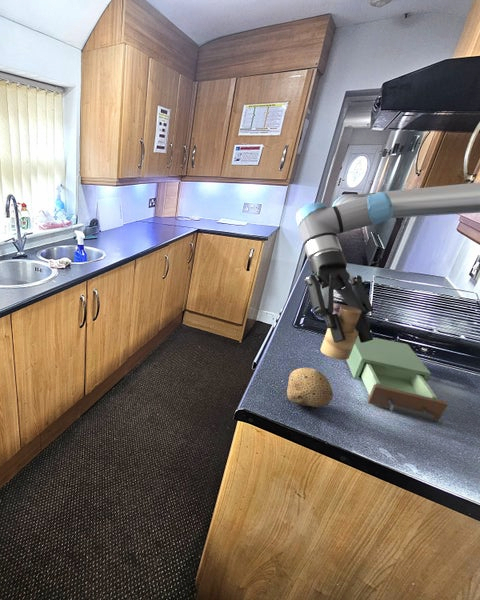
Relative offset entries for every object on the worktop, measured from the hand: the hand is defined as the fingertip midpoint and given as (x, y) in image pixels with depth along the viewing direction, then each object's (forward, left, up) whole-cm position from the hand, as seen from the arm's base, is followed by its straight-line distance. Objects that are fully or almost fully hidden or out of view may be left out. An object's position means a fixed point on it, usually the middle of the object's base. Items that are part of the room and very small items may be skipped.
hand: (353, 340), depth 78 cm
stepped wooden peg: (+2, -3, -6) cm, 7 cm away
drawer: (-13, -4, -15) cm, 20 cm away
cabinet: (-13, -19, -16) cm, 28 cm away
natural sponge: (+7, +9, -16) cm, 19 cm away
